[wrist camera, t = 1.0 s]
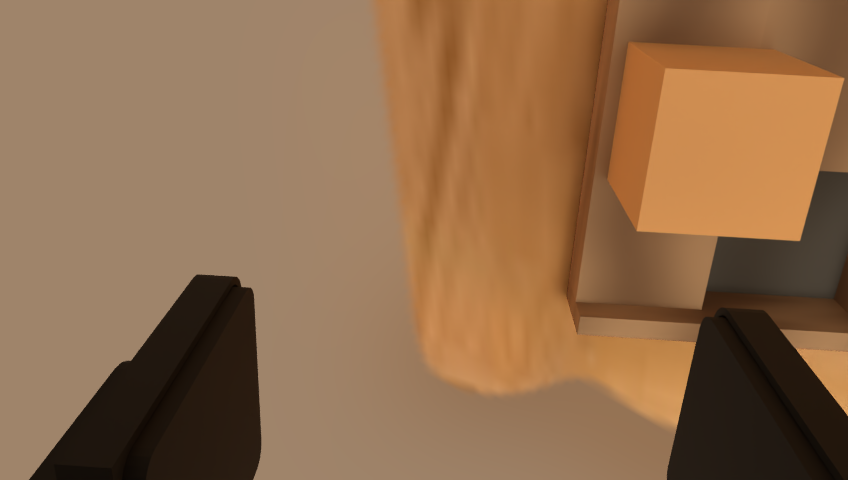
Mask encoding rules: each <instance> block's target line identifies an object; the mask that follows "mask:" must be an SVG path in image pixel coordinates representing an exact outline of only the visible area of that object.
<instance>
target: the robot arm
mask: <svg viewBox="0 0 848 480" xmlns="http://www.w3.org/2000/svg"><path fill="white" fill-rule="evenodd" d="M255 330H256V327H255V309H254V294H253V291H252V289H251V288H246V287H241V284H240V280H239V279H238V278H237V277H229V276H214V275H196V276H195V277H194V278H193V279H192V280H191V282H190V283H189V285H188V286H187V287H186V288H185V290H184V291H183V293H182V294H181V295H180V297H179V298H178V299H177V300H176V302H175V303H174V304H173V306H172V307H171V308H170V310H169V311H168V312H167V314H166V315H165V317H164V318H163V319H162V320H161V322H160V323H159V324H158V326H157V327H156V328H155V330H154V331H153V333H152V334H151V335H150V336H149V338H148V339H147V341H146V342H145V343H144V344H143V346H142V347H141V349H140V350H139V351H138V353H137V354H136V355H135V357H134V358H133V359H132V360H131V361H125V362H122V363H121V364H119V366H117V367H116V368H115V369H114V371H113V372H112V373H111V374H110V376H109V377H108V378H107V380H106V381H105V382H104V384H103V385H102V386H101V388H100V389H99V390H98V391H97V393H96V394H95V395H94V397H93V398H92V399H91V400H90V402H89V403H88V404H87V406H86V407H85V408H84V409H83V411H82V412H81V413H80V415H79V416H78V417H77V418H76V420H75V421H74V422H73V424H72V425H71V426H70V428H69V429H68V430H67V431H66V433H65V434H64V435H63V437H62V438H61V439H60V441H59V442H58V443H57V444H56V446H55V447H54V448H53V450H52V451H51V452H50V453H49V455H48V456H47V457H46V459H45V460H44V461H43V463H42V464H41V465H40V467H39V468H38V469H37V470H36V472H35V473H34V474H33V476H32V477H31V478H30V479H29V480H253V478H254V476H255V473H256V470H257V467H258V464H259V460H260V453H261V426H260V405H259V386H258V369H257V347H256V331H255ZM667 480H848V416H847V414H846V413H845V412H844V410H843V409H842V408H841V407H840V405H839V404H838V403H837V402H836V400H835V399H834V398H833V396H832V395H831V394H830V393H829V391H828V390H827V389H826V387H825V386H824V385H823V384H822V382H821V381H820V380H819V379H818V377H817V376H816V375H815V373H814V372H813V371H812V370H811V368H810V367H809V366H808V364H807V363H806V362H805V361H804V359H803V358H802V357H801V356H800V354H799V353H798V352H797V350H796V349H795V348H794V347H793V345H792V344H791V343H790V341H789V340H788V339H787V338H786V336H785V335H784V334H783V333H782V331H781V330H780V329H779V327H778V326H777V325H776V324H775V322H774V321H773V320H772V318H771V317H770V316H769V315H768V313H766V312H765V311H764V310H755V309H739V308H723V307H721V308H719V309H718V310H717V312H716V313H715V315H714V317H705V318H703V320H702V322H701V325H700V328H699V333H698V337H697V341H696V346H695V350H694V355H693V359H692V364H691V368H690V372H689V377H688V381H687V386H686V390H685V394H684V399H683V403H682V408H681V412H680V417H679V421H678V425H677V430H676V434H675V439H674V443H673V447H672V452H671V456H670V461H669V465H668V471H667Z"/></svg>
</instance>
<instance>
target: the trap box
mask: <svg viewBox="0 0 848 480" xmlns="http://www.w3.org/2000/svg"><path fill="white" fill-rule="evenodd" d="M628 42H643V43H662V44H680V45H699V46H717V47H735V48H754V49H772V50H777V51H779V52H782V53H784V54H787V55H789V56H792V57H794V58H796V59H799V60H801V61H804V62H806V63H809V64H811V65H814V66H816V67H819V68H821V69H823V70H826V71H828V72H831V73H833V74H836V75H838V76H841V77H843V78H844V82H843V85H842V89H841V93H840V96H839V100H838V104H837V107H836V111H835V115H834V118H833V122H832V126H831V129H830V133H829V137H828V140H827V144H826V147H825V151H824V155H823V158H822V162H821V166H820V169H819V173H818V177H817V180H816V184H815V188H814V191H813V195H812V199H811V202H810V206H809V210H808V213H807V217H806V221H805V224H804V228H803V232H802V235H801V239H800V241H790V240H774V239H757V238H741V237H724V236H707V235H691V234H674V233H658V232H641V231H636V229H635V227H634V226H633V224H632V222H631V220H630V219H629V217H628V215H627V213H626V211H625V210H624V208H623V206H622V204H621V203H620V201H619V199H618V197H617V196H616V194H615V192H614V190H613V189H612V187H611V185H610V183H609V182H608V180H607V178H608V171H609V165H610V158H611V152H612V145H613V138H614V132H615V125H616V119H617V112H618V106H619V99H620V93H621V86H622V80H623V73H624V67H625V60H626V54H627V47H628ZM567 299H568V303H569V306H570V310H571V313H572V317H573V320H574V324H575V327H576V331H577V335H593V336H608V337H624V338H640V339H655V340H671V341H687V342H696V341H697V337H698V333H699V328H700V325H701V322H702V320H703V318H705V317H714V315H715V313H716V312H717V310H718V309H719V308H721V307H723V308H739V309H755V310H764V311H765V312H766V313H768V315H769V316H770V317H771V318H772V320H773V321H774V322H775V324H776V325H777V326H778V327H779V329H780V330H781V331H782V333H783V334H784V335H785V336H786V338H787V339H788V340H789V341H790V343H791V344H792V345H793V347H794V348H797V349H813V350H828V351H844V352H848V0H608V4H607V11H606V19H605V26H604V33H603V40H602V47H601V54H600V61H599V69H598V76H597V83H596V90H595V97H594V104H593V111H592V119H591V126H590V133H589V140H588V147H587V154H586V161H585V169H584V176H583V183H582V190H581V197H580V204H579V211H578V219H577V226H576V233H575V240H574V247H573V254H572V262H571V269H570V276H569V283H568V290H567Z"/></svg>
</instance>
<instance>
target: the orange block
mask: <svg viewBox="0 0 848 480" xmlns="http://www.w3.org/2000/svg"><path fill="white" fill-rule="evenodd" d="M843 82H844V78H843V77H841V76H838V75H836V74H833V73H831V72H828V71H826V70H823V69H821V68H819V67H816V66H814V65H811V64H809V63H806V62H804V61H801V60H799V59H796V58H794V57H792V56H789V55H787V54H784V53H782V52H779V51H777V50H772V49H754V48H735V47H717V46H699V45H680V44H662V43H643V42H628V47H627V54H626V60H625V67H624V73H623V80H622V86H621V93H620V99H619V106H618V112H617V119H616V125H615V132H614V138H613V145H612V152H611V158H610V165H609V171H608V178H607V180H608V182H609V183H610V185H611V187H612V189H613V190H614V192H615V194H616V196H617V197H618V199H619V201H620V203H621V204H622V206H623V208H624V210H625V211H626V213H627V215H628V217H629V219H630V220H631V222H632V224H633V226H634V227H635V229H636V231H641V232H658V233H674V234H691V235H707V236H724V237H741V238H757V239H774V240H790V241H800V239H801V235H802V232H803V228H804V224H805V221H806V217H807V213H808V210H809V206H810V202H811V199H812V195H813V191H814V188H815V184H816V180H817V177H818V173H819V169H820V166H821V162H822V158H823V155H824V151H825V147H826V144H827V140H828V137H829V133H830V129H831V126H832V122H833V118H834V115H835V111H836V107H837V104H838V100H839V96H840V93H841V89H842V85H843Z"/></svg>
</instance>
